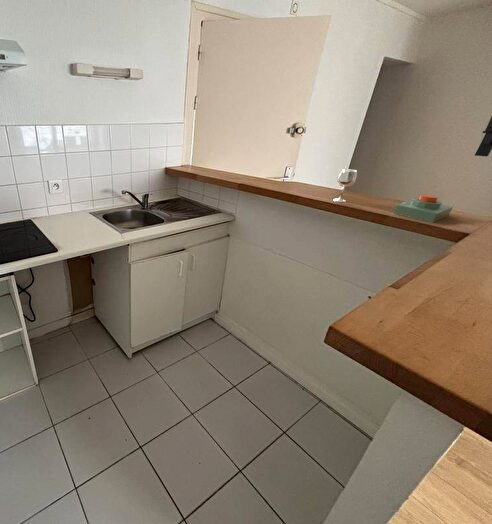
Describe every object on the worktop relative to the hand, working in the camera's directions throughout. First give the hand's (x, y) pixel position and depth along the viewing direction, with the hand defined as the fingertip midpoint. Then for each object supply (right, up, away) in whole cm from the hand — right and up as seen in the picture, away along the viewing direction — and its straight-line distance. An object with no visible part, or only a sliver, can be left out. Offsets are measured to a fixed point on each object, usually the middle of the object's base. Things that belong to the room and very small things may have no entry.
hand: (481, 155), depth 89 cm
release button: (-9, -13, +8) cm, 18 cm away
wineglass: (-27, -9, +25) cm, 38 cm away
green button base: (-9, -17, +10) cm, 22 cm away
